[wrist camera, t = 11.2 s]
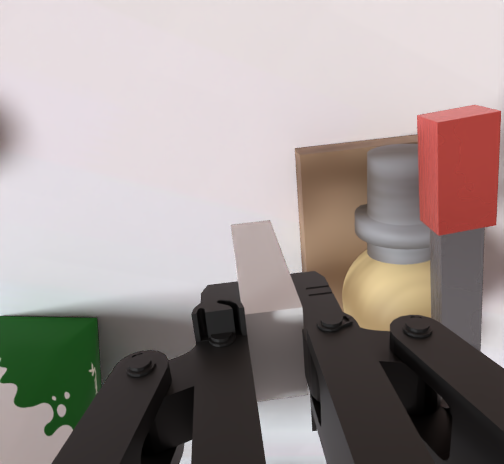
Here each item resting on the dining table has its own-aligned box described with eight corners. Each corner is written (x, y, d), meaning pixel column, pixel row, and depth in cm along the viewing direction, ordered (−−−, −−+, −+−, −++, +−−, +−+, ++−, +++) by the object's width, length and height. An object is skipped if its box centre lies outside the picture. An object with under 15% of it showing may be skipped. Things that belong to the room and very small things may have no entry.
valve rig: (447, 363, 40) (523, 466, 30) (309, 381, 39) (341, 492, 30) (466, 129, 32) (575, 166, 23) (294, 148, 32) (331, 194, 22)
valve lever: (472, 372, 26) (496, 402, 24) (417, 383, 26) (436, 414, 24) (479, 103, 21) (511, 110, 18) (408, 115, 21) (432, 124, 18)
